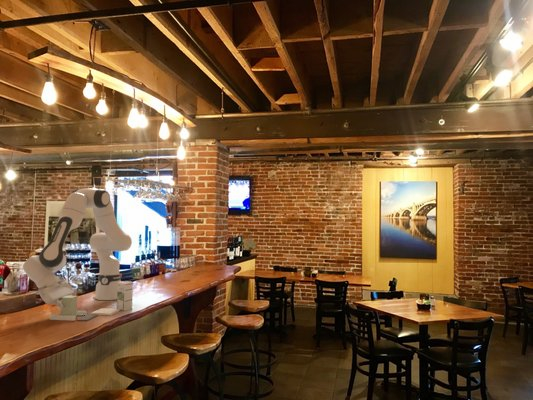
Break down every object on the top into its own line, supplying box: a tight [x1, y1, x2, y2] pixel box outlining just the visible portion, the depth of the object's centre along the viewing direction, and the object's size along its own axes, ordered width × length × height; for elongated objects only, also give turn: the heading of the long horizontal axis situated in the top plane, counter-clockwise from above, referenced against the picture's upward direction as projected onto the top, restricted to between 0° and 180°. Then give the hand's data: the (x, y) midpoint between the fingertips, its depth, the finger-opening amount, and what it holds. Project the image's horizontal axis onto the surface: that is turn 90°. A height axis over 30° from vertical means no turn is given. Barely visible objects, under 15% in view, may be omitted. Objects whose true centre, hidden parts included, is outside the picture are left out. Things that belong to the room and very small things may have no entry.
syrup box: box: [116, 280, 134, 312], centre depth 209 cm, size 6×6×14 cm
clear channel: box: [49, 310, 99, 322], centre depth 190 cm, size 11×18×2 cm, turn 87°
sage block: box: [60, 295, 78, 317], centre depth 190 cm, size 5×5×10 cm
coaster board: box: [90, 307, 120, 317], centre depth 200 cm, size 10×10×1 cm
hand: (68, 305), depth 190 cm, fingers open, 8 cm apart
